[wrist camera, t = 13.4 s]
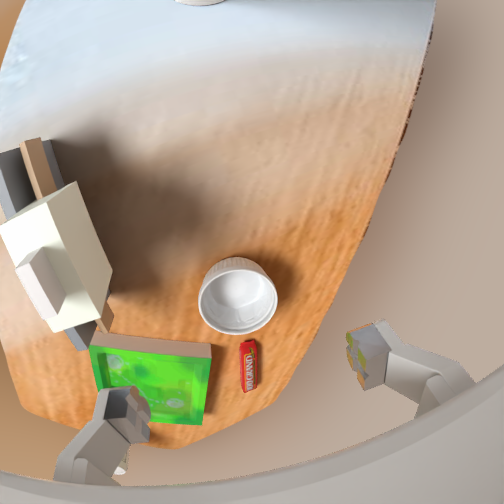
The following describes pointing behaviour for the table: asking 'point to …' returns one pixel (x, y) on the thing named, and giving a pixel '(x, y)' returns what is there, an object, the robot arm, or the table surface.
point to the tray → (155, 373)
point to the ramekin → (237, 296)
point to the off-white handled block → (59, 258)
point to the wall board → (36, 187)
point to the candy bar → (248, 365)
